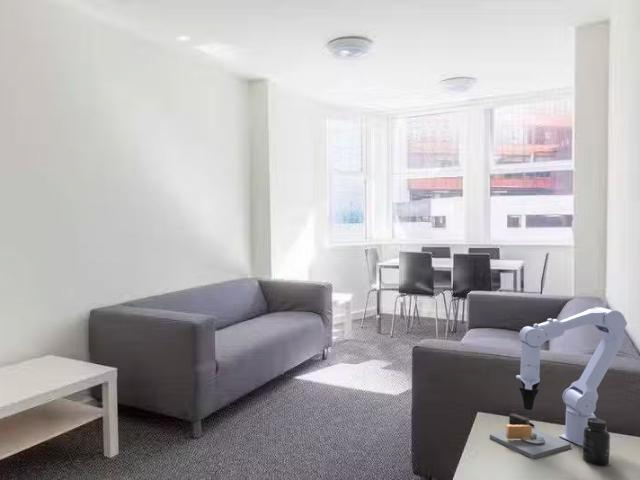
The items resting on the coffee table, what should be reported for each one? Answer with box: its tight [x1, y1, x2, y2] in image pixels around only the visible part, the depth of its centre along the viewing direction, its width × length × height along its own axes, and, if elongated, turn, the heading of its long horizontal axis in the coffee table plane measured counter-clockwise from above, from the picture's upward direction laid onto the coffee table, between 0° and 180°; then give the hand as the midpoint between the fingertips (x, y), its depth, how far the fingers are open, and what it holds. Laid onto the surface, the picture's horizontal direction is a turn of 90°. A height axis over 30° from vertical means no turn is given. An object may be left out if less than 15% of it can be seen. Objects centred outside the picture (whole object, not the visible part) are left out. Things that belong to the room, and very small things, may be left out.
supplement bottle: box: [582, 417, 611, 467], centre depth 140 cm, size 7×7×12 cm
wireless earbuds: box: [508, 412, 535, 428], centre depth 166 cm, size 5×7×3 cm, turn 37°
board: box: [489, 427, 572, 460], centre depth 151 cm, size 18×16×2 cm
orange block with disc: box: [505, 424, 545, 444], centre depth 150 cm, size 12×7×4 cm, turn 94°
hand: (528, 405), depth 155 cm, fingers open, 7 cm apart
